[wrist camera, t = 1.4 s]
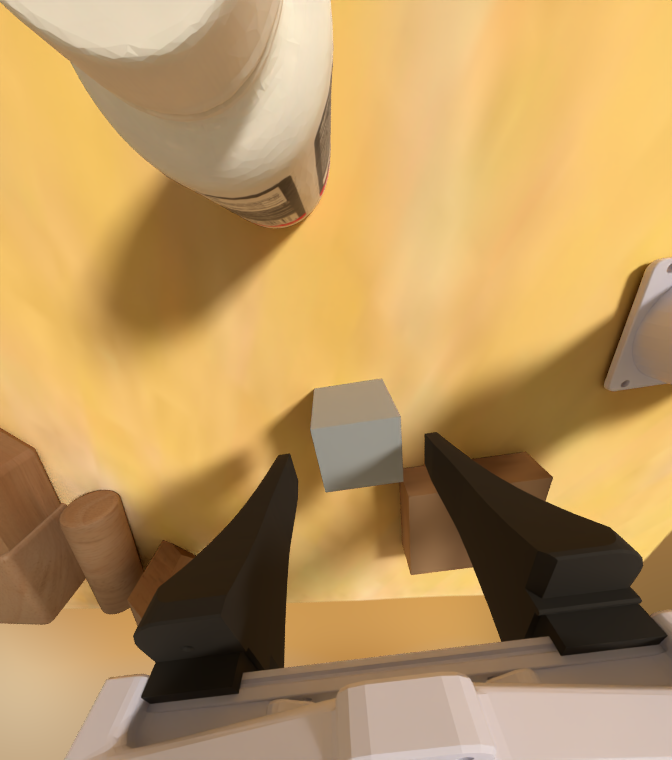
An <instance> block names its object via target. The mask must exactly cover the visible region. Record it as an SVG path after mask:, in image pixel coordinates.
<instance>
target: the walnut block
mask: <svg viewBox="0 0 672 760" xmlns="http://www.w3.org/2000/svg"><path fill="white" fill-rule="evenodd" d="M472 460H473V461H475V462H476V463H478V464H479V465H481V466H482V467H484V468H485V469H487V470H488V471H490V472H491V473H493V474H495V475H496V476H498V477H500V478H501V479H503V480H505V481H507V482H508V483H510V484H512V485H514V486H515V487H517V488H519V489H521V490H523V491H525V492H527V493H529V494H531V495H533V496H535V497H537V498H539V499H541V500H543V501H546V497H547V494H548V491H549V488H550V485H551V482H552V479H553V477H552V476H551V475H550V474H549V473H548V472H547V471H546V470H545V469H544V468H542V467H541V466H540V465H539V464H538V463H537V462H536V461H535V460H534V459H533V458H532V457H531V456H530V455H529V454H527V453H526V452H521V453H513V454H506V455H499V456H491V457H484V458H476V459H472ZM399 483H400V504H401V525H402V545H403V548H404V552H405V555H406V559H407V563H408V566H409V570H410V574H411V575H415V574H423V573H431V572H439V571H447V570H455V569H463V568H471V567H473V566H472V563H471V561H470V558H469V556H468V553H467V551H466V549H465V546H464V544H463V542H462V539H461V537H460V535H459V532H458V530H457V528H456V526H455V524H454V522H453V520H452V519H451V517H450V515H449V513H448V511H447V509H446V507H445V506H444V504H443V502H442V500H441V498H440V496H439V494H438V492H437V491H436V489H435V487H434V485H433V483H432V481H431V478H430V476H429V474H428V471H427V468H426V466H417V467H410V468H403V482H399Z"/></svg>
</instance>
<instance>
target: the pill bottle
mask: <svg viewBox="0 0 672 760" xmlns="http://www.w3.org/2000/svg"><path fill="white" fill-rule="evenodd" d="M0 2H1V3H2V4H3V5H4V6H5V7H6V8H7V9H8V10H9V11H10V12H11V13H12V14H14V15H15V16H16V17H17V18H18V19H19V20H20V21H22V22H23V23H24V24H25V25H26V26H28V27H29V28H30V29H31V30H32V31H34V32H35V33H36V34H37V35H39V36H40V37H41V38H42V39H43V40H45V41H46V42H47V43H48V44H49V45H51V46H52V47H53V48H54V49H56V50H57V51H58V52H59V53H60V54H62V55H63V56H64V57H65V58H67V59H68V60H69V61H70V62H71V64H72V66H73V68H74V69H75V71H76V73H77V75H78V77H79V79H80V80H81V82H82V84H83V85H84V87H85V89H86V90H87V92H88V94H89V95H90V97H91V98H92V100H93V101H94V103H95V104H96V105H97V107H98V108H99V110H100V111H101V112H102V114H103V115H104V116H105V118H106V119H107V120H108V122H109V123H110V124H111V125H112V126H113V128H114V129H115V130H116V131H117V132H118V134H119V135H120V136H121V137H122V138H123V139H124V140H125V141H126V142H127V143H128V144H129V145H130V146H131V147H132V148H133V149H134V150H135V151H136V152H137V153H138V154H139V155H140V156H142V157H143V158H144V159H145V160H146V161H147V162H149V163H150V164H151V165H153V166H154V167H155V168H157V169H158V170H159V171H161V172H162V173H163V174H164V175H166V176H167V177H169V178H171V179H173V180H174V181H176V182H178V183H179V184H181V185H183V186H185V187H187V188H189V189H191V190H193V191H195V192H197V193H198V194H200V195H202V196H204V197H206V198H208V199H210V200H211V201H213V202H215V203H217V204H219V205H221V206H222V207H224V208H226V209H228V210H230V211H231V212H233V213H235V214H237V215H239V216H240V217H242V218H243V219H246V220H248V221H250V222H252V223H255V224H257V225H260V226H263V227H267V228H284V227H288V226H292V225H294V224H296V223H298V222H300V221H301V220H303V219H304V218H306V217H307V216H308V215H309V214H310V213H311V212H312V211H313V209H314V208H315V207H316V206H317V204H318V203H319V201H320V199H321V197H322V195H323V193H324V190H325V187H326V184H327V180H328V175H329V168H330V150H331V143H330V134H331V83H332V68H333V25H332V13H331V0H0Z"/></svg>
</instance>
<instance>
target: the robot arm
mask: <svg viewBox="0 0 672 760" xmlns="http://www.w3.org/2000/svg"><path fill="white" fill-rule="evenodd" d="M667 383H668V384H671V385H672V257H669V258H663V259H658V260H655V261H653V262H652V263H650V264H649V265H648V267H647V268H646V270H645V272H644V275H643V278H642V281H641V283H640V286H639V289H638V292H637V294H636V297H635V300H634V303H633V305H632V308H631V311H630V314H629V316H628V319H627V322H626V325H625V327H624V330H623V333H622V336H621V338H620V341H619V344H618V347H617V349H616V352H615V355H614V358H613V360H612V363H611V366H610V369H609V371H608V374H607V377H606V380H605V382H604V388H606V389H608V390H610V391H619V390H626V389H633V388H640V387H647V386H653V385H660V384H667ZM425 466H426V468H427V471H428V474H429V476H430V478H431V481H432V483H433V485H434V487H435V489H436V491H437V492H438V494H439V496H440V498H441V500H442V502H443V504H444V506H445V507H446V509H447V511H448V513H449V515H450V517H451V519H452V520H453V522H454V524H455V526H456V528H457V530H458V532H459V535H460V537H461V539H462V542H463V544H464V546H465V549H466V551H467V553H468V556H469V558H470V561H471V563H472V566H473V568H474V571H475V573H476V576H477V578H478V581H479V583H480V586H481V588H482V591H483V593H484V596H485V599H486V601H487V603H488V606H489V609H490V612H491V614H492V617H493V620H494V623H495V625H496V628H497V631H498V634H499V636H500V639H501V642H497V643H488V644H480V645H471V646H463V647H455V648H447V649H438V650H430V651H421V652H413V653H406V654H396V655H388V656H379V657H371V658H363V659H354V660H346V661H338V662H329V663H321V664H313V665H304V666H296V667H288V668H284V648H285V647H284V646H285V617H286V595H287V578H288V564H289V552H290V544H291V538H292V532H293V526H294V520H295V513H296V507H297V500H298V478H297V475H296V472H295V469H294V465H293V462H292V459H291V455H290V454H284V455H279V456H278V457H277V458H276V460H275V462H274V463H273V465H272V466H271V468H270V470H269V471H268V473H267V474H266V476H265V477H264V479H263V480H262V482H261V483H260V485H259V486H258V488H257V489H256V491H255V492H254V493H253V495H252V496H251V497H250V499H249V500H248V501H247V503H246V504H245V505H244V507H243V508H242V509H241V510H240V511H239V513H238V514H237V515H236V516H235V517H234V519H233V520H232V521H231V522H230V523H229V524H228V525H227V526H226V527H225V528H224V530H223V531H222V532H221V533H220V534H219V535H218V536H217V537H216V538H215V539H214V540H213V541H212V542H211V543H210V544H209V545H208V546H207V547H206V548H204V549H203V550H202V551H201V552H200V553H199V554H198V555H197V556H196V557H195V558H193V559H192V560H191V561H190V562H189V563H188V564H187V565H185V566H184V567H183V568H182V569H181V570H179V571H178V572H177V573H176V574H174V575H173V576H172V577H171V578H170V579H168V580H167V581H166V582H165V583H163V584H162V585H161V586H159V587H158V589H157V591H156V593H155V594H154V596H153V598H152V600H151V602H150V604H149V605H148V607H147V609H146V611H145V613H144V615H143V617H142V619H141V621H140V623H139V625H138V627H137V629H136V631H135V633H134V636H133V637H134V641H135V644H136V645H137V646H138V648H139V649H140V650H142V651H143V652H144V653H145V654H146V655H148V656H149V657H150V658H151V659H152V660H154V661H155V662H156V664H155V665H154V668H153V670H152V672H151V675H150V676H149V675H145V674H134V675H126V676H118V677H110V678H109V679H108V680H106V682H105V683H104V685H103V687H102V689H101V691H100V693H99V695H98V697H97V699H96V700H95V702H94V705H93V706H92V708H91V710H90V712H89V714H88V716H87V717H86V719H85V721H84V723H83V725H82V727H81V729H80V731H79V733H78V734H77V736H76V738H75V740H74V742H73V744H72V746H71V748H70V750H69V751H68V753H67V755H66V757H65V759H64V760H672V610H663V611H659V612H655V613H653V614H651V615H650V616H649V615H648V613H647V612H646V611H645V610H644V609H643V608H642V607H641V606H640V605H639V604H638V603H641V602H642V600H641V598H640V597H639V596H638V595H637V594H636V593H635V591H634V590H633V589H632V588H631V587H630V586H631V584H632V583H633V581H634V580H635V579H636V577H637V576H638V574H639V573H640V571H641V569H642V567H643V561H642V557H641V556H640V554H639V553H638V552H637V551H635V550H634V549H633V548H632V547H631V546H630V545H629V544H628V543H627V542H626V541H625V540H624V539H623V538H621V537H620V536H619V535H618V534H617V533H616V532H615V531H613V530H612V529H611V528H610V527H607V526H605V525H602V524H600V523H597V522H594V521H592V520H589V519H586V518H584V517H581V516H578V515H576V514H573V513H571V512H568V511H566V510H564V509H561V508H559V507H557V506H555V505H552V504H550V503H548V502H546V501H543V500H541V499H539V498H537V497H535V496H533V495H531V494H529V493H527V492H525V491H523V490H521V489H519V488H517V487H515V486H514V485H512V484H510V483H508V482H507V481H505V480H503V479H501V478H500V477H498V476H496V475H495V474H493V473H491V472H490V471H488V470H487V469H485V468H484V467H482V466H481V465H479V464H478V463H476V462H475V461H473V460H472V459H471V458H469V457H468V456H467V455H465V454H464V453H462V452H461V451H460V450H459V449H457V448H456V447H455V446H453V445H452V444H451V443H450V442H448V441H447V440H446V439H444V438H443V437H442V436H441V435H439V434H438V433H437V432H434V433H427V434H425Z"/></svg>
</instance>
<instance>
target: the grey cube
mask: <svg viewBox="0 0 672 760" xmlns="http://www.w3.org/2000/svg"><path fill="white" fill-rule="evenodd" d="M310 431H311V435H312V439H313V443H314V447H315V451H316V455H317V459H318V463H319V468H320V472H321V476H322V480H323V484H324V488H325V492H332V491H340V490H347V489H354V488H361V487H369V486H376V485H383V484H391V483H398V482H403V460H402V438H401V416H400V414H399V412H398V410H397V408H396V406H395V404H394V402H393V400H392V398H391V396H390V394H389V392H388V390H387V388H386V386H385V384H384V382H383V379H375V380H369V381H362V382H356V383H349V384H342V385H336V386H329V387H323V388H316V389H314V397H313V407H312V417H311V427H310Z"/></svg>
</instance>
